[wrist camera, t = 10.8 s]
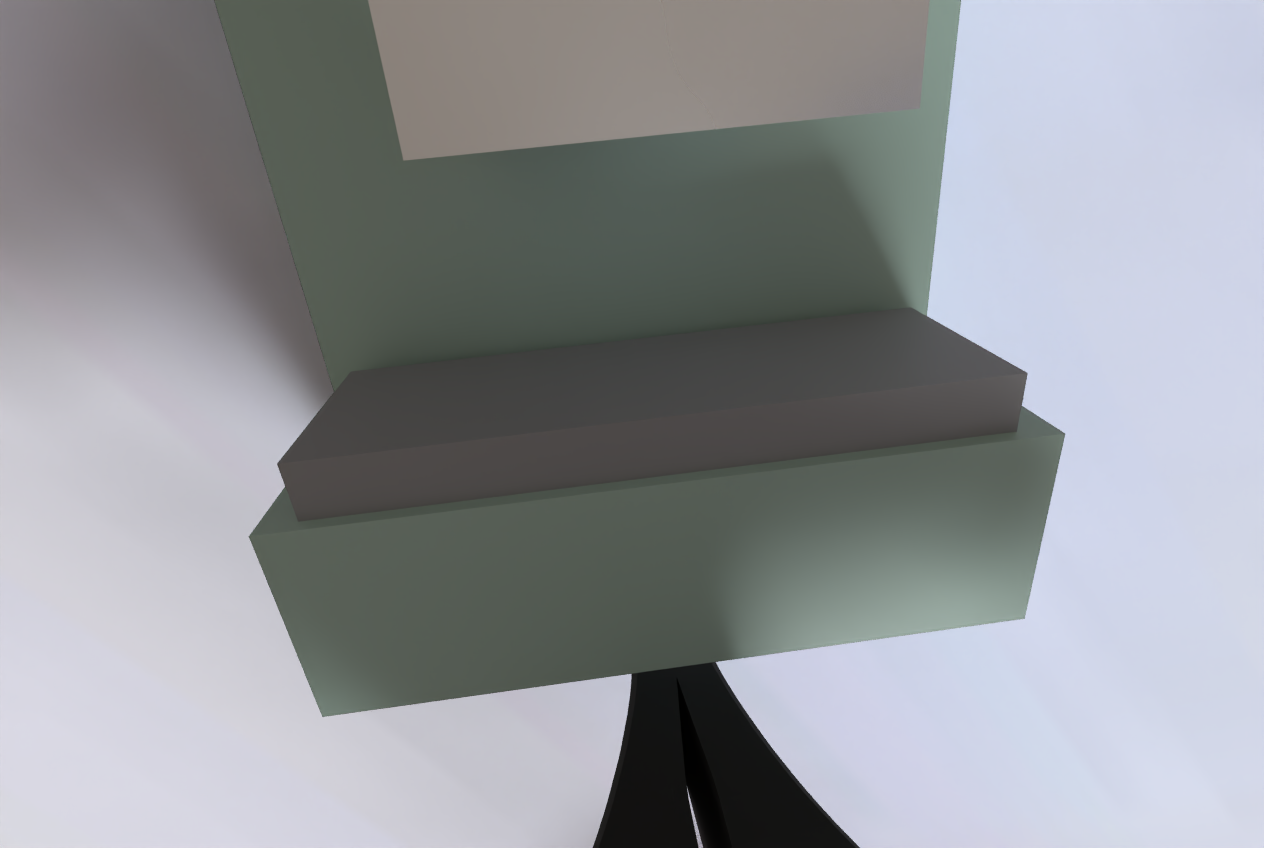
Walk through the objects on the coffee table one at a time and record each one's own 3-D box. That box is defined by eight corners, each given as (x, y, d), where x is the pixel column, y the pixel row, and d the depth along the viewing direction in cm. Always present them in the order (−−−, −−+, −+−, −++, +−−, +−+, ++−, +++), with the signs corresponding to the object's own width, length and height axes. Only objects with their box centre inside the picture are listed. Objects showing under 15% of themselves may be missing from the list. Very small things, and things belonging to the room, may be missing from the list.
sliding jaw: (931, 299, 11) (1078, 373, 8) (909, 492, 13) (1024, 618, 10) (324, 368, 11) (224, 478, 7) (383, 561, 12) (322, 717, 9)
